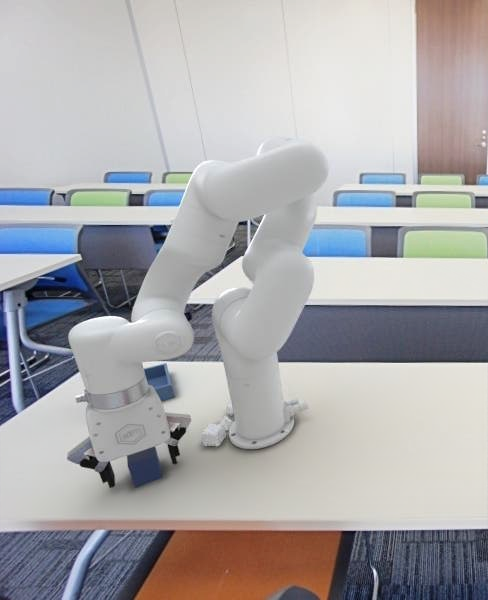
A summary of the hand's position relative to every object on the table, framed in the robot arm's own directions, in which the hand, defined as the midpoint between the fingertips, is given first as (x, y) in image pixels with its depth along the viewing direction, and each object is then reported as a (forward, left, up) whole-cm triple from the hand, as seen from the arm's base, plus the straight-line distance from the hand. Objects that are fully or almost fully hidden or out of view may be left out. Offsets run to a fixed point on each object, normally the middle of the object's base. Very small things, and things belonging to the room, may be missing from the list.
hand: (144, 470), depth 72 cm
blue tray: (0, -29, -1) cm, 29 cm away
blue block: (0, 0, -1) cm, 1 cm away
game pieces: (-14, -6, -2) cm, 16 cm away
